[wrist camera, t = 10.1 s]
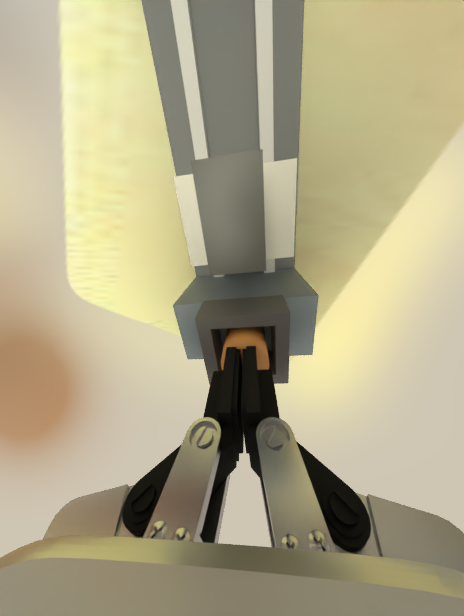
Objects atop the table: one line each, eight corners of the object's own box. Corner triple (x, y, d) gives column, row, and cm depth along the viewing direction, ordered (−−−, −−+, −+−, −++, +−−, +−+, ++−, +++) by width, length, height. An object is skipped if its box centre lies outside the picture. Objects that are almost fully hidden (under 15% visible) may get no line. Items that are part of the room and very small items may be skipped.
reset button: (223, 319, 13) (217, 346, 10) (264, 316, 13) (268, 344, 10) (228, 351, 14) (223, 382, 12) (265, 349, 14) (269, 381, 11)
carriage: (186, 183, 15) (131, 155, 8) (287, 168, 14) (329, 121, 7) (199, 258, 18) (167, 288, 11) (286, 250, 17) (315, 276, 10)
